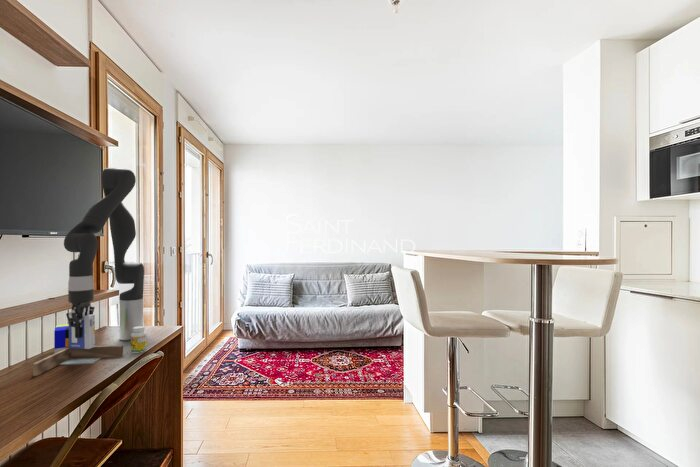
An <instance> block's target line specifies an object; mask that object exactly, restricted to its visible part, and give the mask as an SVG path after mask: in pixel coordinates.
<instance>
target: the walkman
mask: <svg viewBox="0 0 700 467" xmlns="http://www.w3.org/2000/svg"><path fill="white" fill-rule="evenodd" d="M95 316H96V315H95V314H93V315H85V316H84V320H83V326H82V327H83V337H82V338H75V328H74V327H71V326H70V324H69V323H68V324H69V348H76V349H90V348H93V347H95V346H96V326H95V324H96V323H95V322H96V321H95V318H96V317H95ZM73 323H74V322H73ZM79 323H80V321H79Z"/></svg>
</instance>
